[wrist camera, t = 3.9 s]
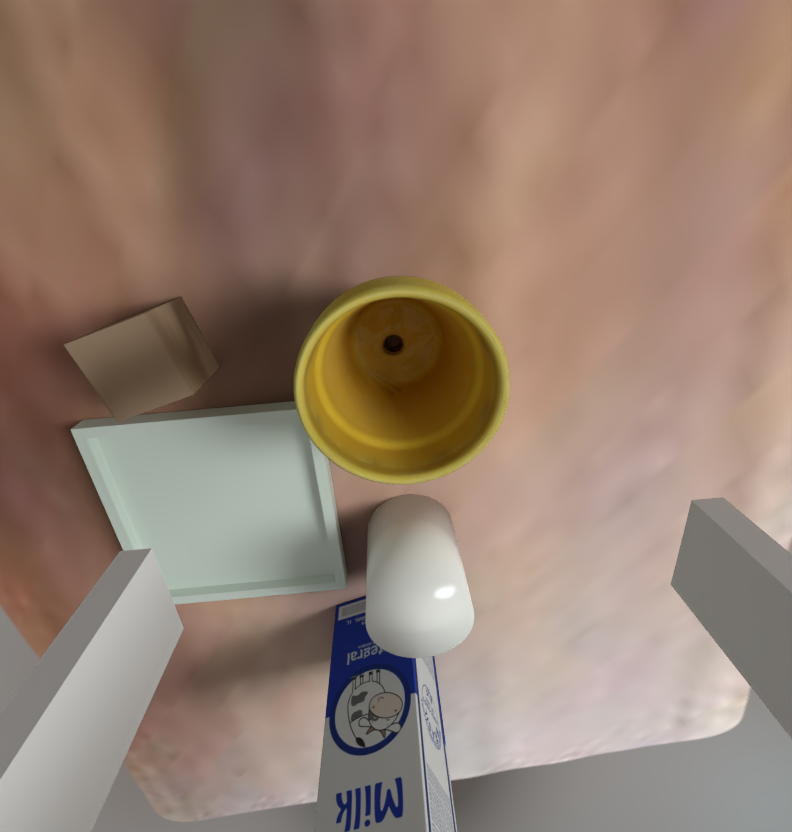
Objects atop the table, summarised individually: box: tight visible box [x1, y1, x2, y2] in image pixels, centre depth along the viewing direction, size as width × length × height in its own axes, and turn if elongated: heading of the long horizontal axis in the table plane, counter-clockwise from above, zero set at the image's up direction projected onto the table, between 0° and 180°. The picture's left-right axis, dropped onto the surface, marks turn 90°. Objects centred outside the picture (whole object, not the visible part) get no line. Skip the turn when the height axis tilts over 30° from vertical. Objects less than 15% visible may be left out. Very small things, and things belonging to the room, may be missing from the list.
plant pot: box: [293, 276, 510, 484], centre depth 26 cm, size 10×10×10 cm
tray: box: [70, 401, 348, 604], centre depth 34 cm, size 17×17×2 cm
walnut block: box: [64, 297, 220, 422], centre depth 27 cm, size 5×5×5 cm
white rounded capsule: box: [365, 494, 474, 658], centre depth 33 cm, size 7×7×9 cm
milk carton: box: [314, 596, 457, 832], centre depth 32 cm, size 7×7×20 cm
